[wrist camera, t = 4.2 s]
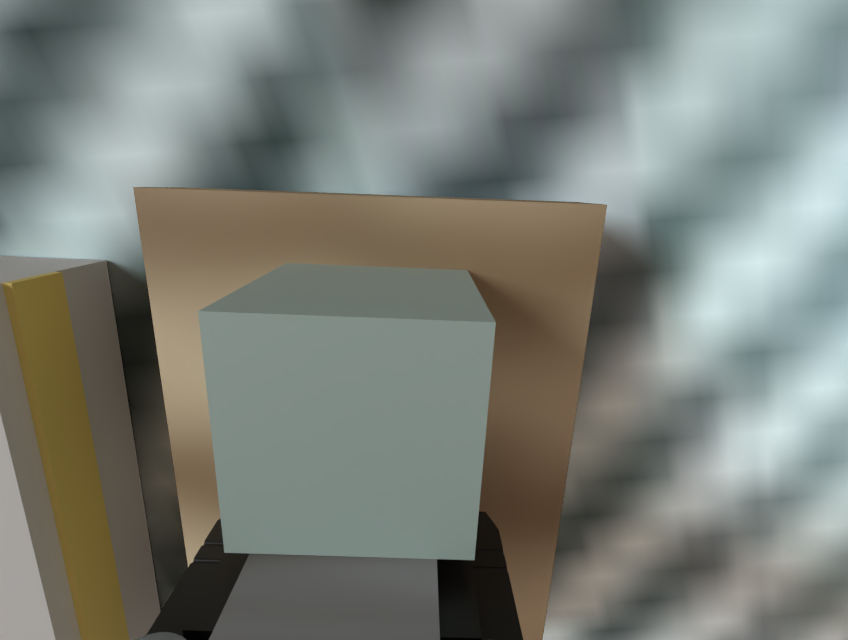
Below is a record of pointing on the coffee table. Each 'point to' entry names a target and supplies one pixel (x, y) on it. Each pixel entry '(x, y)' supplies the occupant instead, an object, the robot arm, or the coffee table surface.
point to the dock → (68, 461)
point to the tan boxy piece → (508, 399)
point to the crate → (349, 411)
